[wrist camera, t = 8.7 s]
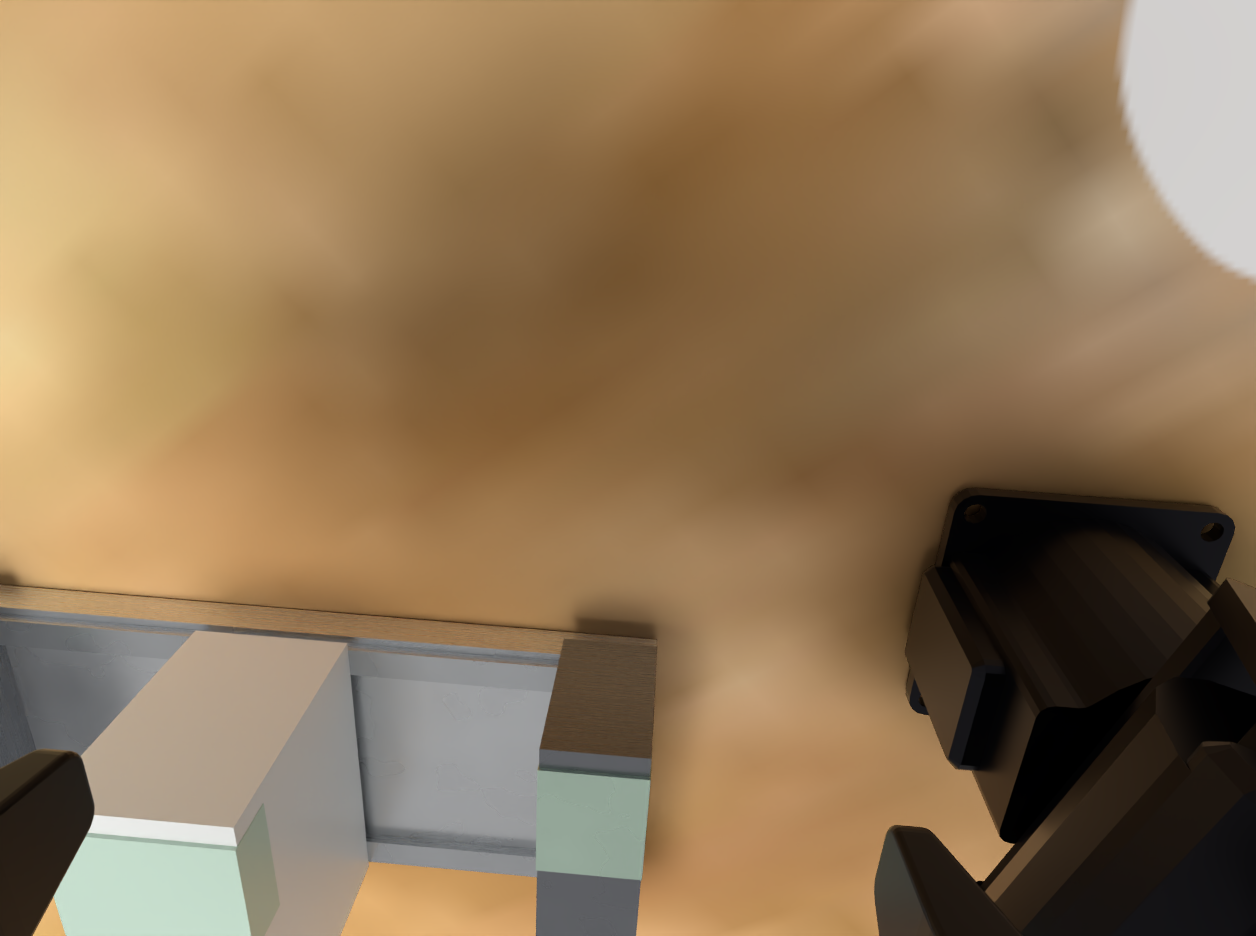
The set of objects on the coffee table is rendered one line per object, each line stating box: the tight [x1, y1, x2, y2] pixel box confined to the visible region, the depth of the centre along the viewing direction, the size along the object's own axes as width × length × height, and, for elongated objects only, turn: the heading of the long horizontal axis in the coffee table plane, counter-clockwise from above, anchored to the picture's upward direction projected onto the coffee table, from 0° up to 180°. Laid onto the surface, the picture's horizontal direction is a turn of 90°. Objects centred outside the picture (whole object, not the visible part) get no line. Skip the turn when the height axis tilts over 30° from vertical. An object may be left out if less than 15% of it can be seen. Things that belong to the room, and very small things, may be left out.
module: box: [54, 630, 369, 936], centre depth 21 cm, size 4×8×6 cm, turn 177°
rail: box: [0, 585, 657, 936], centre depth 22 cm, size 20×9×5 cm, turn 87°
